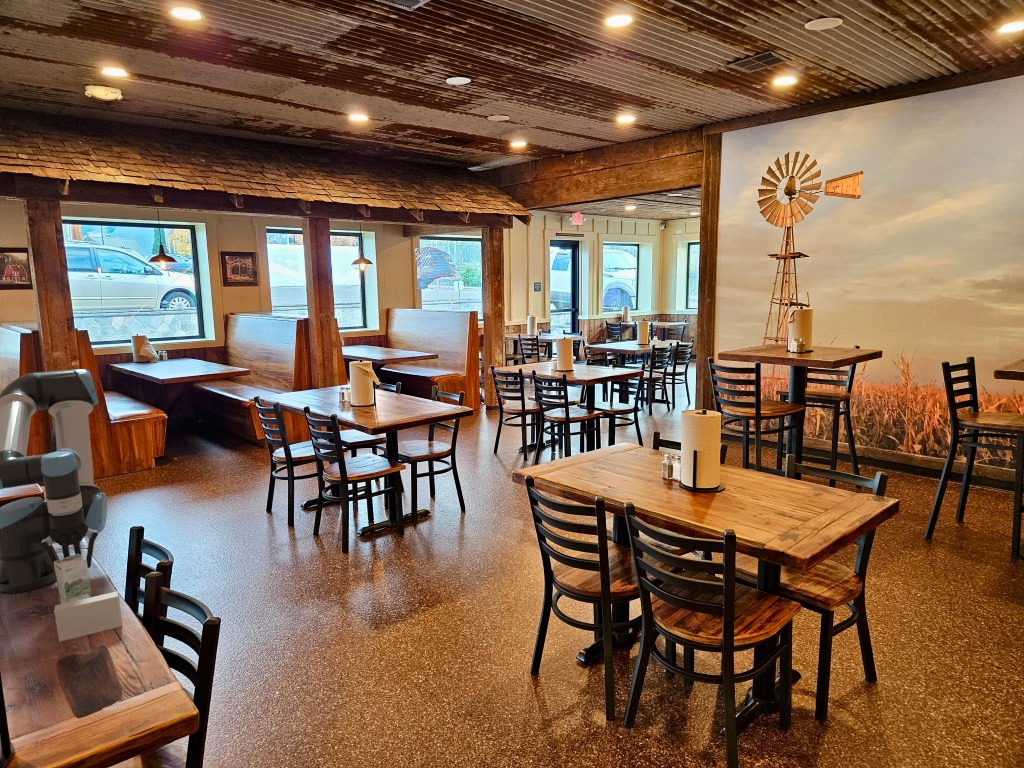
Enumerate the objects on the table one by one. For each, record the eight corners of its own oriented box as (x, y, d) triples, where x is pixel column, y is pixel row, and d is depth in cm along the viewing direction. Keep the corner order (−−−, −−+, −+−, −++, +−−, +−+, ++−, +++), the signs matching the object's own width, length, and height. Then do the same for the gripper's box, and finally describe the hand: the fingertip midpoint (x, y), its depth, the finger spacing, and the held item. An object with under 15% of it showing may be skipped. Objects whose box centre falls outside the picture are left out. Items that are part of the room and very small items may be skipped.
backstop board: (60, 635, 161) (55, 605, 160) (122, 620, 167) (118, 591, 166) (59, 641, 158) (54, 610, 157) (122, 626, 165) (117, 596, 163)
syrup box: (85, 603, 176) (78, 552, 174) (94, 610, 173) (86, 558, 170) (61, 612, 172) (52, 560, 169) (69, 620, 168) (60, 566, 166)
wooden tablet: (126, 696, 136) (67, 712, 130) (126, 707, 136) (67, 723, 130) (106, 641, 157) (55, 653, 150) (106, 650, 157) (55, 662, 151)
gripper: (33, 520, 168) (47, 607, 172) (94, 510, 174) (106, 593, 178) (37, 511, 174) (50, 595, 178) (95, 501, 180) (107, 582, 185)
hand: (78, 594), depth 178 cm, fingers closed
